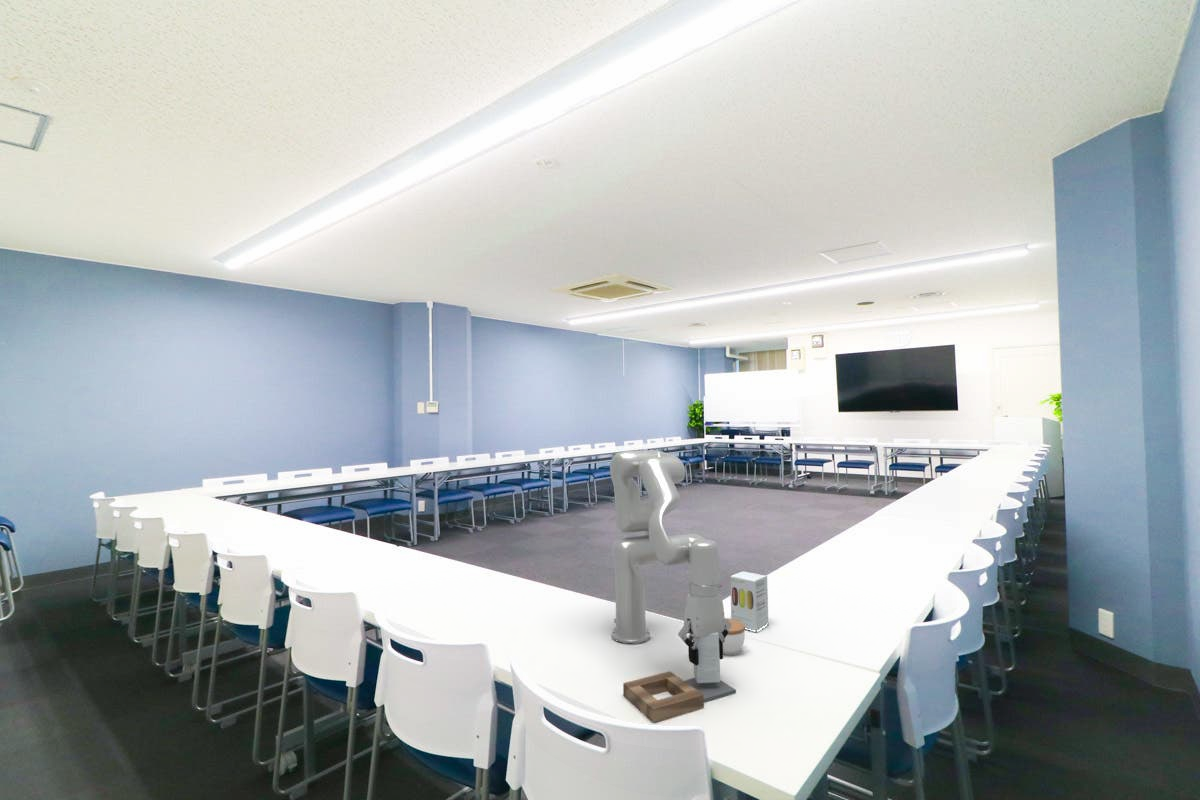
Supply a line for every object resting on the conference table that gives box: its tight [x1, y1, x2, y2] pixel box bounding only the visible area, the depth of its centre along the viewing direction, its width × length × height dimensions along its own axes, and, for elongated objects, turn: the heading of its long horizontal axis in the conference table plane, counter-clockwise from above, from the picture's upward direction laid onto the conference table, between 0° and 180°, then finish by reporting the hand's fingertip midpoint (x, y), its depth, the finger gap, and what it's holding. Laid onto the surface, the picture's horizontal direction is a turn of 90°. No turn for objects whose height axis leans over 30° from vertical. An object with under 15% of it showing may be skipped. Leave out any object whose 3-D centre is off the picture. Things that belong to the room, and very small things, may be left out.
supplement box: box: [730, 570, 769, 631], centre depth 174 cm, size 10×9×17 cm
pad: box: [683, 677, 737, 703], centre depth 130 cm, size 10×10×1 cm
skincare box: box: [692, 632, 721, 683], centre depth 131 cm, size 6×4×12 cm
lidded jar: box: [723, 617, 746, 656], centre depth 154 cm, size 11×11×9 cm
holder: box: [622, 670, 705, 724], centre depth 125 cm, size 14×14×3 cm
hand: (706, 659), depth 131 cm, fingers closed on skincare box, 7 cm apart
